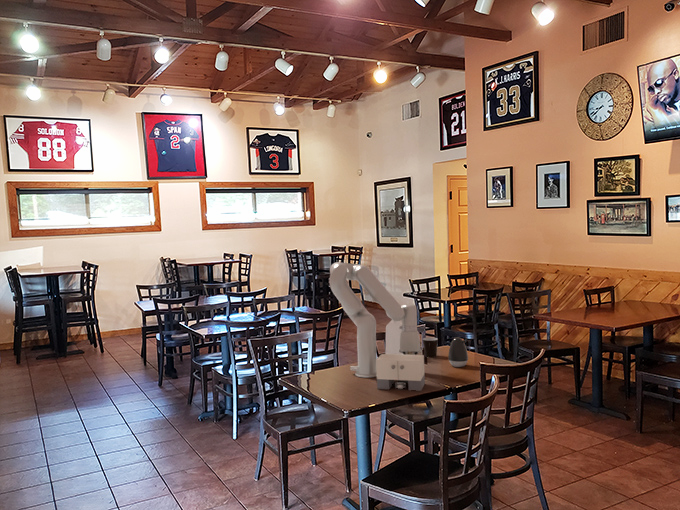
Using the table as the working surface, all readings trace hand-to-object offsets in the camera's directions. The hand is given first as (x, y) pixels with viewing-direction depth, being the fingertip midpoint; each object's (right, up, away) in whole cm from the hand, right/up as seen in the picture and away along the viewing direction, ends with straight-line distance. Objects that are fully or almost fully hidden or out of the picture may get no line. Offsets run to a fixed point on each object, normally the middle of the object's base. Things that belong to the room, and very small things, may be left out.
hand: (410, 364), depth 272 cm
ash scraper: (-2, -4, -8) cm, 9 cm away
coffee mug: (+15, -3, +33) cm, 36 cm away
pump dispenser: (+26, -3, +8) cm, 28 cm away
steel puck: (-8, -5, -28) cm, 30 cm away
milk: (-3, -3, +35) cm, 35 cm away
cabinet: (-8, -5, -26) cm, 28 cm away
